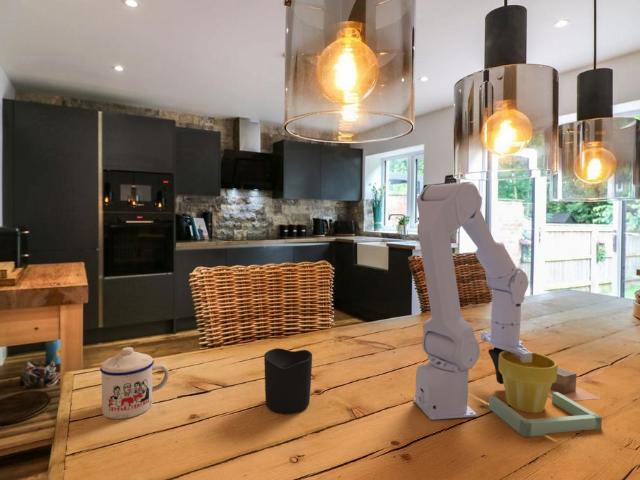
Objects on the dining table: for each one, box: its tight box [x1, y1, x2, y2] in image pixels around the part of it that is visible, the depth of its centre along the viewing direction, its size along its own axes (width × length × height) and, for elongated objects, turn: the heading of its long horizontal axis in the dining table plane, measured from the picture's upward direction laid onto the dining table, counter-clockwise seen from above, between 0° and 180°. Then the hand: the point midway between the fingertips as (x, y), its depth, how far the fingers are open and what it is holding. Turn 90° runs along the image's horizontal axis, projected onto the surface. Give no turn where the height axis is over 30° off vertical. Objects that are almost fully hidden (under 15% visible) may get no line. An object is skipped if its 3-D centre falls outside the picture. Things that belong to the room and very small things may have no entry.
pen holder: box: [263, 347, 313, 415], centre depth 76 cm, size 9×9×10 cm
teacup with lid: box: [99, 346, 170, 420], centre depth 74 cm, size 12×9×12 cm
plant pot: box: [498, 350, 559, 414], centre depth 78 cm, size 10×10×10 cm
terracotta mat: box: [548, 385, 601, 402], centre depth 85 cm, size 10×10×1 cm
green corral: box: [488, 392, 603, 438], centre depth 73 cm, size 15×10×2 cm, turn 100°
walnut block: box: [550, 366, 577, 395], centre depth 85 cm, size 4×4×4 cm
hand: (502, 382), depth 85 cm, fingers closed
